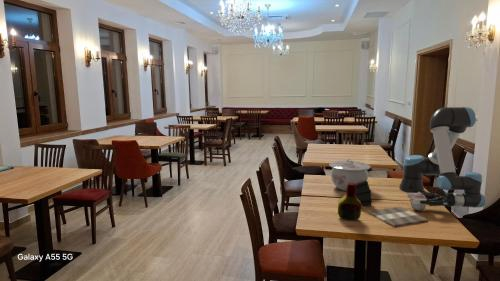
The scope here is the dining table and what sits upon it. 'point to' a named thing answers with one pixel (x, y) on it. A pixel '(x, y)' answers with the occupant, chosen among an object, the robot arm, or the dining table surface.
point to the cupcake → (418, 206)
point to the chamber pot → (348, 173)
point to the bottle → (349, 204)
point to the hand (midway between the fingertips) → (410, 198)
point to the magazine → (363, 193)
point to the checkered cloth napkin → (397, 216)
